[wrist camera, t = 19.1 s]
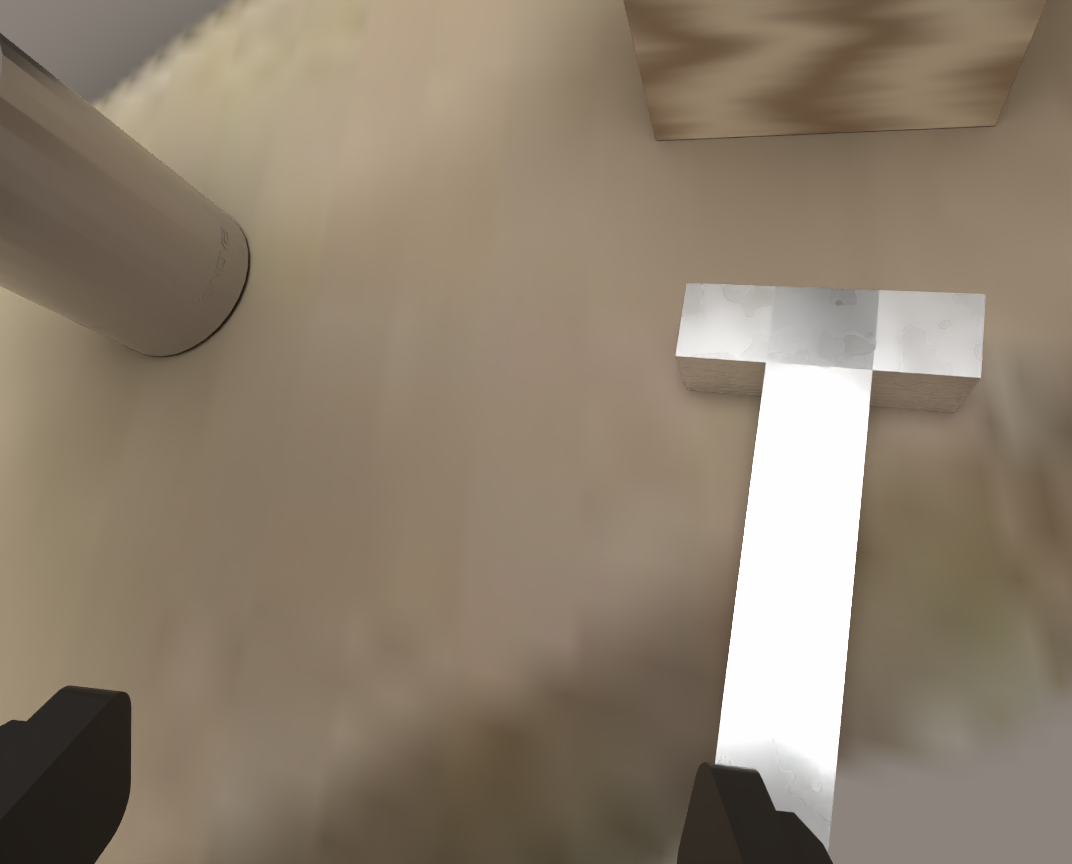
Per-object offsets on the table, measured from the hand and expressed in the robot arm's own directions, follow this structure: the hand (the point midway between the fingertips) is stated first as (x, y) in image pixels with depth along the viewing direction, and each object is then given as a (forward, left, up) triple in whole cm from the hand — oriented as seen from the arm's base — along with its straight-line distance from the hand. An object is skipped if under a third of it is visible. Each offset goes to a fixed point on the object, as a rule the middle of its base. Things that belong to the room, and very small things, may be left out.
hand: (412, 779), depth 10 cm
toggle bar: (+5, +5, -19) cm, 21 cm away
